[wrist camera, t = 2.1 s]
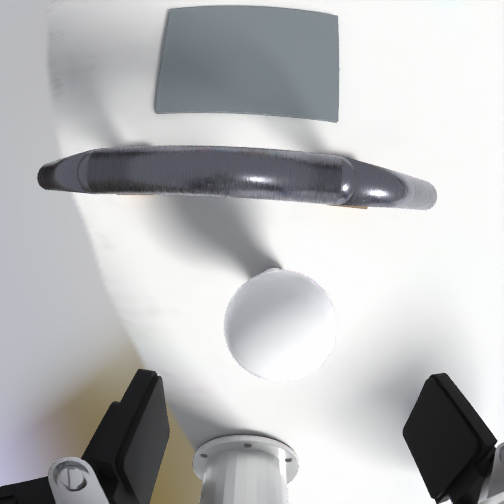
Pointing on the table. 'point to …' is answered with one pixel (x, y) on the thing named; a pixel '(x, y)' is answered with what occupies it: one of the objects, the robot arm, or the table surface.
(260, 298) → the lightbulb
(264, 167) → the wire arch
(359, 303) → the table surface
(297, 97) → the mat
